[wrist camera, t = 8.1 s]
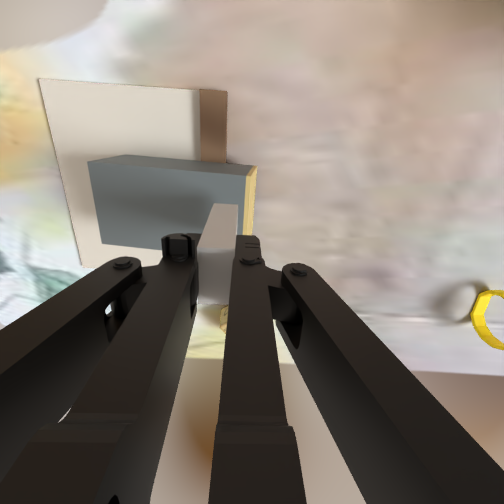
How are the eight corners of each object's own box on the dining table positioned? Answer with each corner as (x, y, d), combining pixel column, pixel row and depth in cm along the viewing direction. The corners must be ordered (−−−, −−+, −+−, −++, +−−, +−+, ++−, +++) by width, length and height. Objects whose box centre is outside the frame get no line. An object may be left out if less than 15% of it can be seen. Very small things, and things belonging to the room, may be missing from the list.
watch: (481, 321, 32) (526, 364, 27) (458, 322, 32) (499, 365, 27) (503, 280, 29) (559, 319, 24) (478, 281, 29) (528, 320, 24)
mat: (42, 79, 21) (38, 78, 20) (201, 90, 21) (201, 90, 21) (84, 265, 27) (82, 267, 27) (204, 270, 28) (204, 272, 28)
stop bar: (201, 90, 21) (199, 89, 20) (227, 92, 21) (226, 91, 20) (204, 270, 28) (203, 276, 27) (224, 271, 28) (223, 277, 27)
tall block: (257, 166, 22) (125, 154, 23) (250, 176, 17) (86, 161, 18) (251, 234, 24) (134, 222, 25) (245, 259, 20) (101, 243, 21)
